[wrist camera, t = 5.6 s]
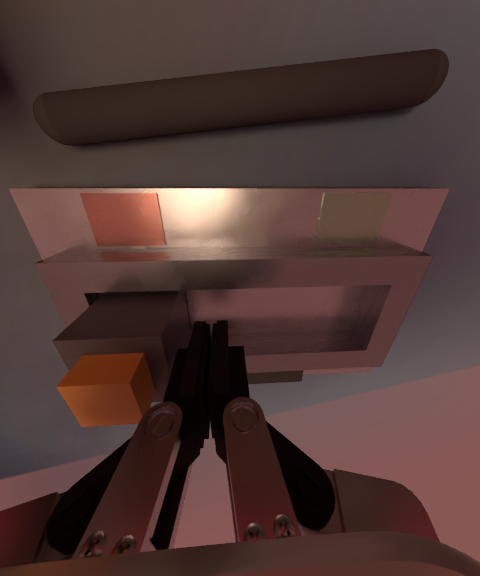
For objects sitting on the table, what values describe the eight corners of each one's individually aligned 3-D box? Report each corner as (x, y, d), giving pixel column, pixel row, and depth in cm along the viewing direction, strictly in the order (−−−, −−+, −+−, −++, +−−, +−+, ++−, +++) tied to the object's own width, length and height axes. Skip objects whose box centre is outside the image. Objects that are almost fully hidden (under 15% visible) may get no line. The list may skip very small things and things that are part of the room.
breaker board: (425, 187, 12) (493, 190, 9) (359, 357, 19) (386, 393, 16) (34, 187, 11) (-41, 190, 8) (111, 369, 17) (87, 410, 14)
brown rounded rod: (428, 59, 9) (470, 35, 8) (416, 110, 10) (451, 97, 9) (46, 103, 9) (9, 87, 8) (66, 150, 10) (36, 144, 9)
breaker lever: (183, 281, 12) (148, 365, 7) (190, 334, 14) (168, 432, 9) (114, 283, 12) (18, 372, 6) (131, 336, 14) (68, 439, 8)
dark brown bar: (297, 349, 18) (304, 366, 16) (294, 364, 18) (301, 381, 17) (180, 354, 17) (176, 372, 16) (183, 369, 18) (179, 387, 16)
